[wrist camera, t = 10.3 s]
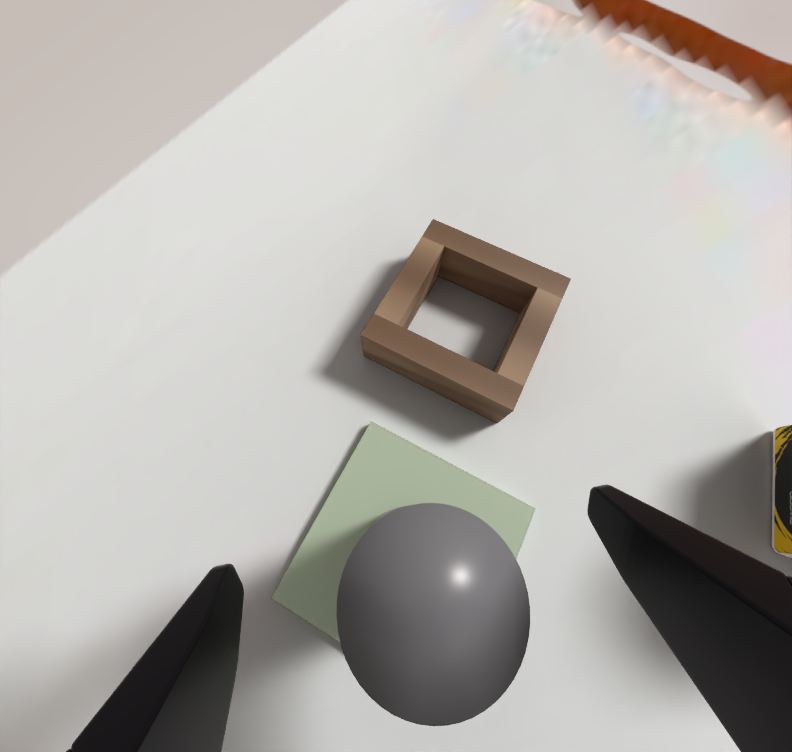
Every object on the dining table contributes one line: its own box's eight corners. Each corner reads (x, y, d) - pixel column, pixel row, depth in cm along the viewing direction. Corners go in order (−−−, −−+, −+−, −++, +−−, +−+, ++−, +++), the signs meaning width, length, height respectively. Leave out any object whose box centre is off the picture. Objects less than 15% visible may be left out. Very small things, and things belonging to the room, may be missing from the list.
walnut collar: (497, 423, 22) (513, 410, 19) (364, 355, 23) (360, 334, 20) (550, 305, 25) (570, 278, 22) (428, 250, 26) (432, 219, 23)
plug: (440, 616, 18) (509, 759, 8) (352, 586, 19) (307, 683, 8) (462, 521, 20) (544, 535, 9) (380, 494, 20) (371, 479, 10)
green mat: (453, 709, 17) (456, 716, 17) (274, 595, 19) (270, 598, 18) (531, 508, 20) (535, 508, 20) (371, 423, 22) (371, 420, 21)
